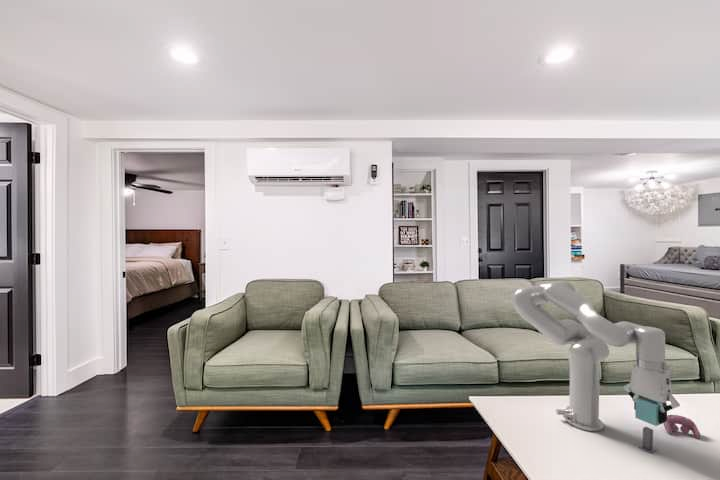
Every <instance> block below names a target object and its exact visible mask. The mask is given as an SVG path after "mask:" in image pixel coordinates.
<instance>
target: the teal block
mask: <svg viewBox="0 0 720 480" xmlns="http://www.w3.org/2000/svg"><path fill="white" fill-rule="evenodd" d="M634 411H635V412H634V413H635V418H636V419H638V420H640V421H643V422H645V423H647V424H649V425H653V426H655V427H658V426H659V425H661V424H660V423H659V422H658V412H659V411H660V408H659V405H658V403H657V402H656V401H653V400H650V399H647V398H645V397H642V396H641V397H639V398H635V410H634Z"/></svg>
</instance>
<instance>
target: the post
mask: <svg viewBox="0 0 720 480" xmlns="http://www.w3.org/2000/svg"><path fill="white" fill-rule="evenodd" d="M637 446H638V449H640V450H642V451H644V452H647V453H649V454H650V455H651V454H654V453H656V452H657V451H658V449H657V448H655V447H653V446H654V429H652V428H650V427H648V426H644V427H642V443H641V444H640V445H637Z"/></svg>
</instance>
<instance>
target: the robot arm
mask: <svg viewBox="0 0 720 480" xmlns="http://www.w3.org/2000/svg"><path fill="white" fill-rule="evenodd" d="M512 297H513V298H512V303H513V307H514V310H515V311H516V313H517V314H518V315H519V316H520V317H521V318H522V319H523V320H524V321H526V322H527V323H529V324H530V325H531V326H532V327H534V328H535V329H536V330H538V332H539V333H541V334H542V335H543V336H544V337H546V338H548V339H549V340H550V341H551V342H552V343H553V344H555V345H558V346H562V347H563V346H566V345H569V344H570V346H569V348H568V350H567V351H568V352H567V357H568V363H569V397H568V398H569V401H568V403H569V404H568V405H569V406H568V405H567V406H566V408H564V409H560V408H559V409H558V408H557V409H555V413H556V415H558V416H559V415H560V416H561V415H562V418H563V419H565V421H566V422H567V423H568V424H570V425H571V426H572V427H573V426H574V427H575V428H578V429H580V430H584V431H588V432H599V431H602V430H604V422H603V421H602V420H600V419H599V416H600V414H599V413H600V372H599V369H598V367H599V363H602V362H603V361H605V360H606V359H607V358H608V357H609V354H610V348H609V346H612V347H615V348H622V347H626V346H628V345H631V344H635V364H633V367H632V370H631V375H630V382H629V383H627V384H625V385H624V386H623V389H624V390H625V391H626V392H627V393H628V395H629V397H631V399H632V402H634V403H633V404H634V405H633V410H634V411H635V398H639V397H641V396H642V397H645V398H647V399H650V400H653V401H656V402H657V403H658V405H659V408H660V411H659V412H658V422H659V423H660V425H663V423H664V422H666V421H667V415H668V411H671V410H673V409H676V408H678V407H680V406H681V404H680V403H679V402H678V400H676V398H675V397H674V396H673V389H672V381H671V377H670V372H669V371H670V370H671V365H667V362H666V333H665V331H664V330H663V329H661V328H658V327H655V326H654V327H653V326H648V325H647V326H645V325H640V324H637V323H633V322H629V321H618V322H615V323H613V322H612V321H610V320H608V319H607V318H605V317H603V316H602V315H600V314H599V313H598V311H596V310H595V309H594V307H593V303H592V300H590V299H588V298H587V297H585V296H584V295H582V294H580V293H578V292H576V288H575V286H574V285H573V284H572V283H571V282H570V281H569V282H568V281H566V280H557V281H551V282H549V283H545V284H536V285H532V286H531V285H530V286H523V287H521V288H519V289H517V290H515V292H514V294H513V296H512ZM551 303H552V304H553V305H555V306H557V307H558V308H560V309H561V310H563V311H565V312H567V313H568V314H569V315H570V316H573V317H574V318H576V319H577V321H576V320H573V319H570V318H564V319H558V318H557V317H555V316H554V315H552V314H551V313H550V312H548V311H547V310H546V309H543V308H541V307H539V306H538V305H544V304H551ZM608 345H609V346H608ZM667 402H670V404H669V405H668V404H667Z"/></svg>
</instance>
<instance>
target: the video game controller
mask: <svg viewBox="0 0 720 480" xmlns="http://www.w3.org/2000/svg"><path fill="white" fill-rule="evenodd" d="M662 425H663V427H664V429H665V432H666V433H667V434H668V435H672V433H673V432H676V433H677V432H678V431H679V430H680V432H682V433H684V434H688V433H689V432H690V431H691V432H692V434H693V435H694V437H696V439H698V440H700V439H701V438H702V437H701V436H702V435H701V432H700V431H699V429H698V427H697V425H696V423H695V422H694V421H693V420H692V419H691V418H688V417H686V416H683V415H679V414H667V421H666V422H664V423H662ZM678 425H680V427H678Z"/></svg>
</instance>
